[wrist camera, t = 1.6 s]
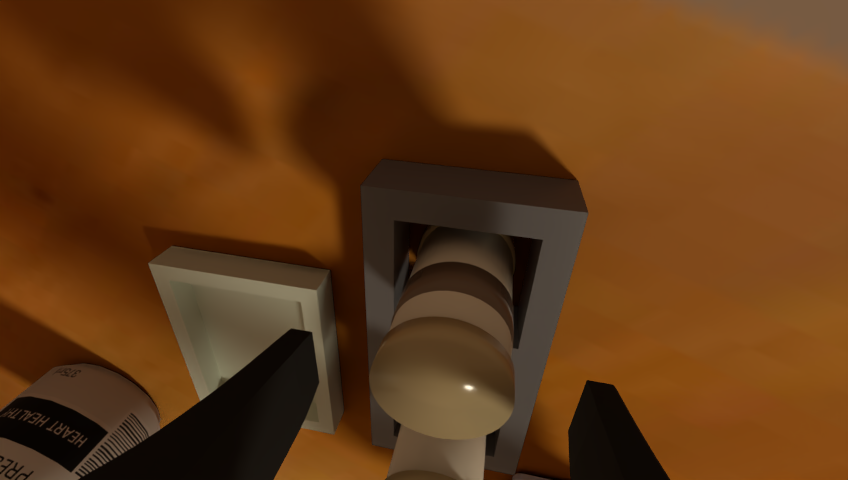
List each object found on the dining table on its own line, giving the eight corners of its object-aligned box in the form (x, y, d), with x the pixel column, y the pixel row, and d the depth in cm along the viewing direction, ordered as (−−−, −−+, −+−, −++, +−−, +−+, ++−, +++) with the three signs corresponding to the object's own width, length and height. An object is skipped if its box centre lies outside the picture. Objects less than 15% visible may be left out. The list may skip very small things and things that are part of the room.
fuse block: (514, 428, 21) (514, 475, 19) (385, 402, 22) (372, 444, 20) (577, 180, 14) (588, 212, 12) (382, 159, 15) (360, 185, 13)
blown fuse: (508, 294, 17) (503, 451, 11) (419, 281, 18) (370, 424, 12) (523, 215, 15) (527, 353, 9) (423, 202, 16) (366, 326, 10)
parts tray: (344, 411, 24) (334, 434, 22) (218, 385, 25) (202, 406, 23) (330, 270, 18) (316, 290, 17) (172, 245, 19) (147, 263, 18)
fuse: (487, 402, 21) (476, 562, 15) (415, 388, 21) (376, 537, 15) (497, 349, 19) (488, 510, 13) (417, 335, 19) (373, 483, 13)
